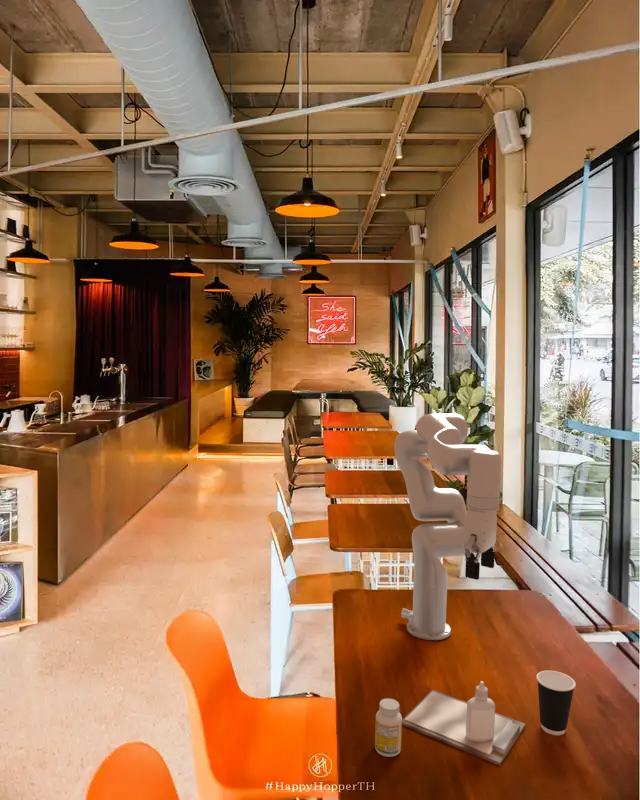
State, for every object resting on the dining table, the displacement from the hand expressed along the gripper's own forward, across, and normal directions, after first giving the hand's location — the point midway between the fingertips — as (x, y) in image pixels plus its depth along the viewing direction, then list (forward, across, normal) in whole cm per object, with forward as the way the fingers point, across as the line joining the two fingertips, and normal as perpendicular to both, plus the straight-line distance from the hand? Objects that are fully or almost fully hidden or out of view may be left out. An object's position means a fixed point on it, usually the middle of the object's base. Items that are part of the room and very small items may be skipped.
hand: (479, 572), depth 147 cm
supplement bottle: (+28, +34, -5) cm, 45 cm away
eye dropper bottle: (+28, +20, +9) cm, 35 cm away
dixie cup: (+28, +6, +20) cm, 35 cm away
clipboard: (+28, +17, +4) cm, 33 cm away
